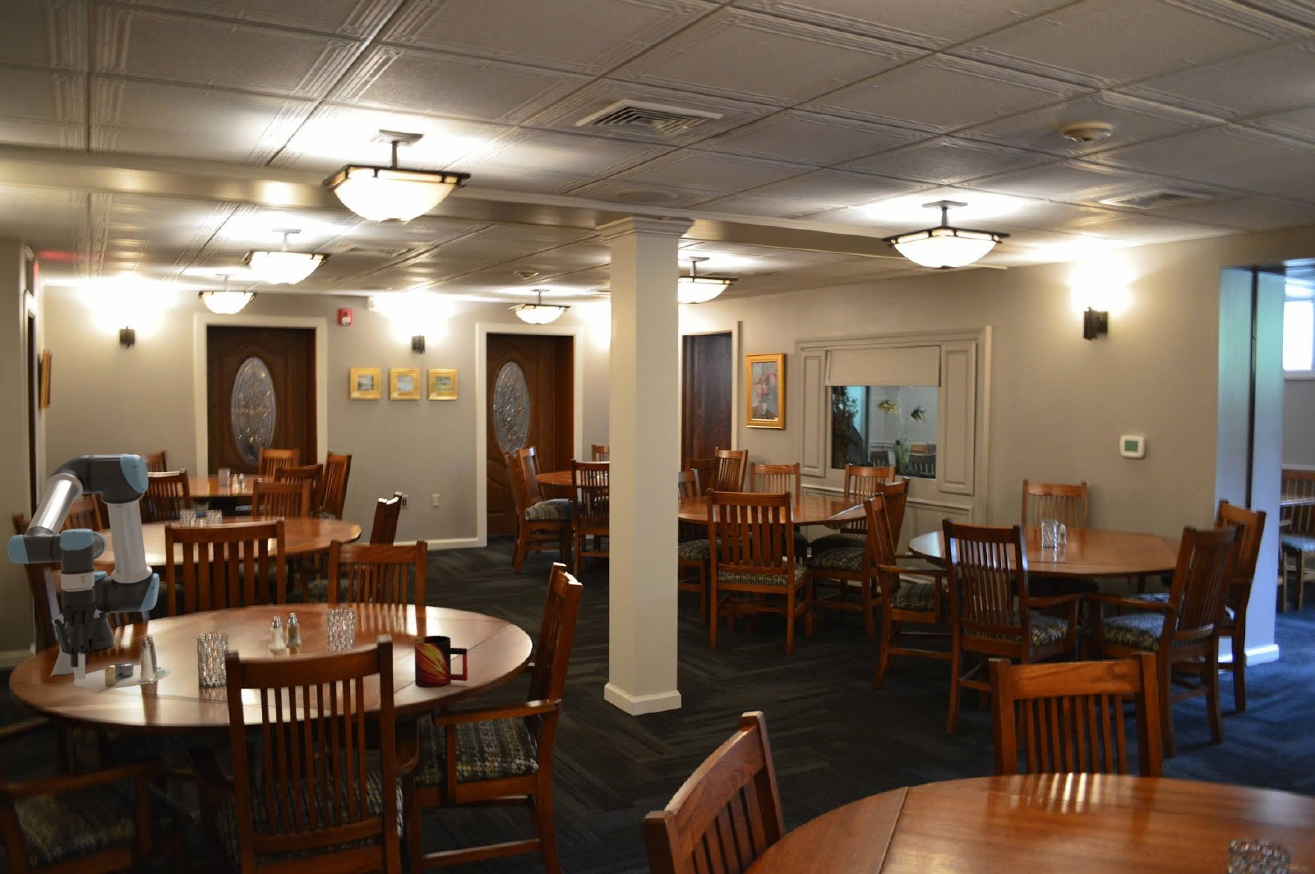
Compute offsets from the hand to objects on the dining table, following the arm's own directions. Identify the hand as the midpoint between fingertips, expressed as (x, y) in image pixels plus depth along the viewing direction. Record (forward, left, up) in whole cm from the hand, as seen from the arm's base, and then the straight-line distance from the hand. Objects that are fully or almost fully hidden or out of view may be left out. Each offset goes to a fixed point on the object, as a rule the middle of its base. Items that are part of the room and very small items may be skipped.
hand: (79, 678), depth 262 cm
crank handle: (-11, +5, -4) cm, 13 cm away
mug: (+2, +92, -5) cm, 93 cm away
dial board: (-16, +5, -5) cm, 17 cm away
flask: (-25, -13, -5) cm, 28 cm away
